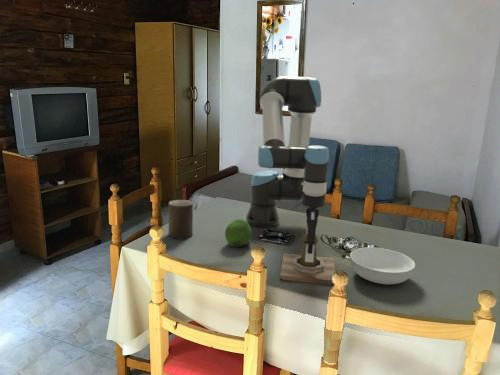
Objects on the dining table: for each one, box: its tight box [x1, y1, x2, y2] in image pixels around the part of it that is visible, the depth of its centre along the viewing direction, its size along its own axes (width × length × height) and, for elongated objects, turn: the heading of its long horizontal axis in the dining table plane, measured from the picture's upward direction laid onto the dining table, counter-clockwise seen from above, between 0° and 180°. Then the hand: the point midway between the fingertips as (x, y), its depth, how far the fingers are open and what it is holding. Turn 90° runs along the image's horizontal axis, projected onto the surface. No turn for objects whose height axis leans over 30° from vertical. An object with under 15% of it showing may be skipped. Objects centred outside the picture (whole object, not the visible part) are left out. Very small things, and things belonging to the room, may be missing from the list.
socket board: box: [279, 252, 336, 286], centre depth 144 cm, size 18×18×3 cm
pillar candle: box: [168, 199, 194, 240], centre depth 170 cm, size 10×10×15 cm
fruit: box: [224, 219, 253, 248], centre depth 164 cm, size 15×10×10 cm, turn 161°
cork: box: [300, 233, 319, 267], centre depth 143 cm, size 6×6×11 cm
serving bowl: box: [349, 246, 416, 285], centre depth 140 cm, size 21×21×7 cm
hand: (309, 253), depth 143 cm, fingers open, 13 cm apart
